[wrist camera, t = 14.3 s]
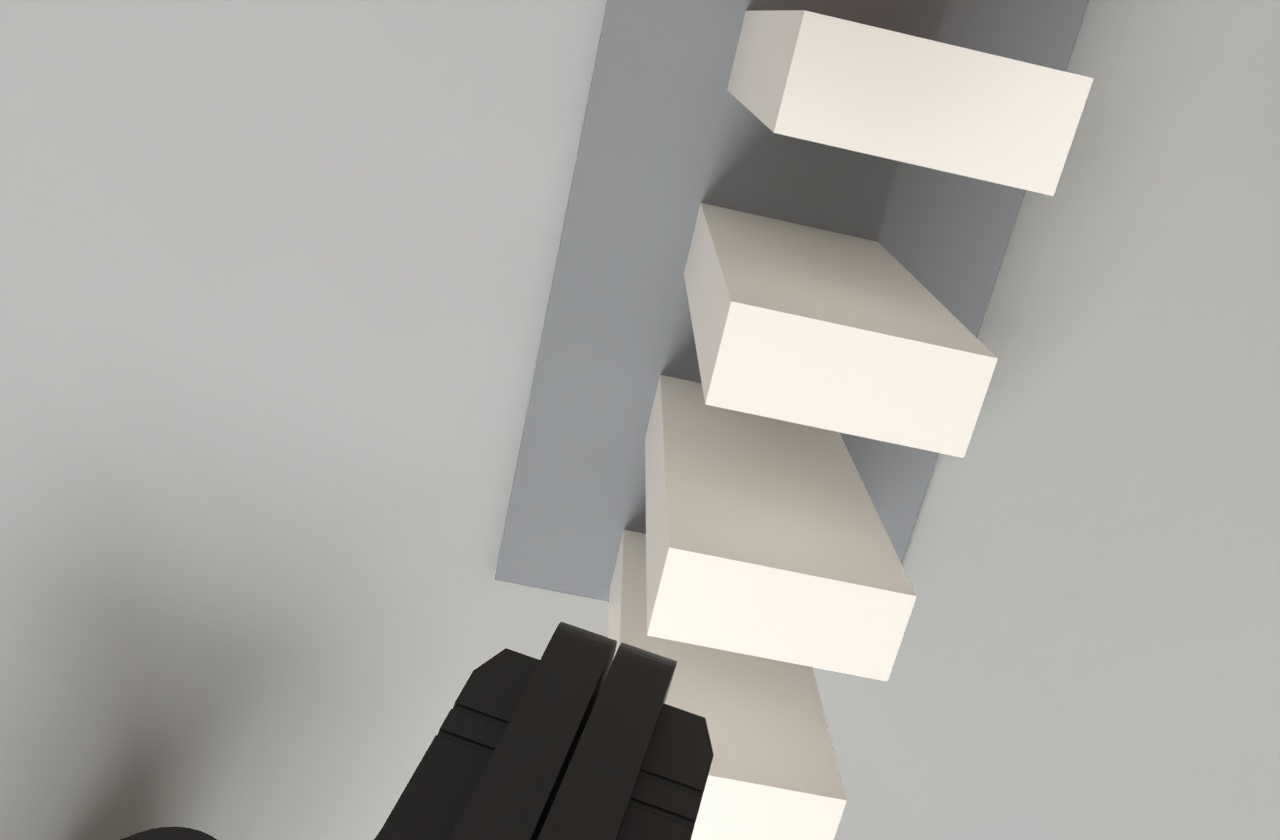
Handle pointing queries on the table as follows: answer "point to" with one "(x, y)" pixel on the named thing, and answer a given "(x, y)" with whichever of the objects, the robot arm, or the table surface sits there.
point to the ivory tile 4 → (908, 98)
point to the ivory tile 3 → (828, 334)
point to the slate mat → (661, 237)
